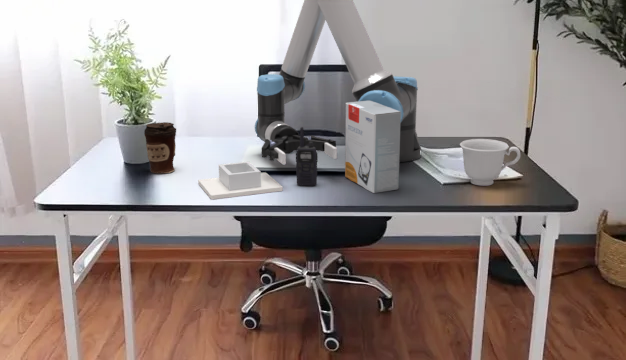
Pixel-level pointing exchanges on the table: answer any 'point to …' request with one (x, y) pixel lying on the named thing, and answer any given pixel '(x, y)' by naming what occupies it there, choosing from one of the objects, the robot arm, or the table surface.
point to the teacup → (485, 159)
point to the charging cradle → (239, 181)
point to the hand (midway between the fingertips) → (310, 156)
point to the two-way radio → (306, 163)
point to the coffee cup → (160, 146)
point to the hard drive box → (372, 145)
